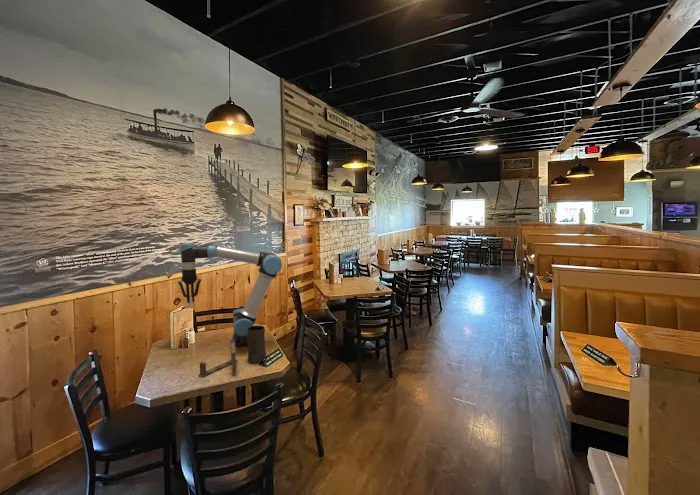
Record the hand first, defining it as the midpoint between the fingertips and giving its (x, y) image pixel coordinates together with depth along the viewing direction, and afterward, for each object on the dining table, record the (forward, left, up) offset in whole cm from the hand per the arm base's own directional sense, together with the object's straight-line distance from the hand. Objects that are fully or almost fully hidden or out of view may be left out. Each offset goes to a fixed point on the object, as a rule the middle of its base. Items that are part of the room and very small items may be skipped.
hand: (191, 307), depth 202 cm
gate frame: (-8, +26, -30) cm, 41 cm away
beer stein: (-30, +26, -31) cm, 50 cm away
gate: (-14, +32, -29) cm, 45 cm away
